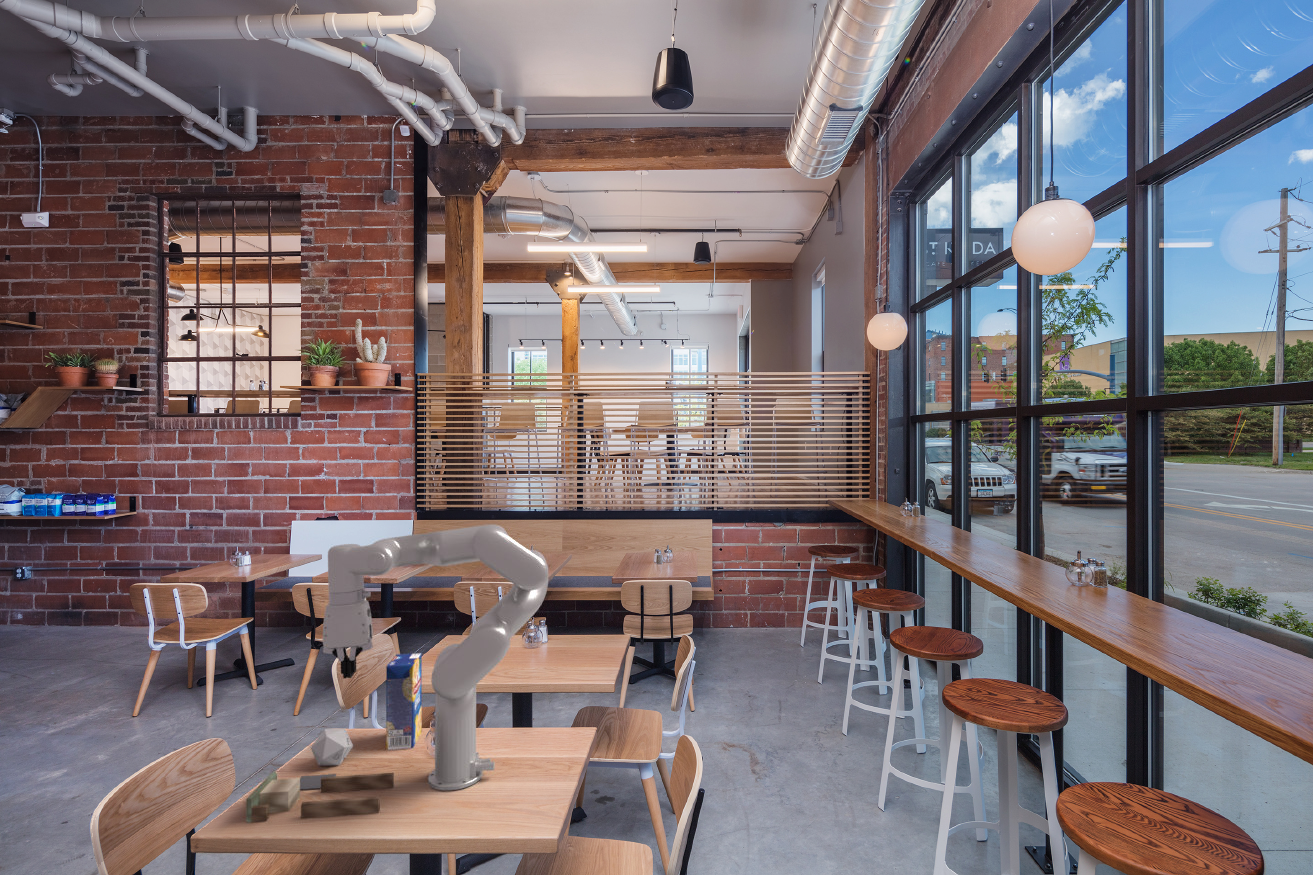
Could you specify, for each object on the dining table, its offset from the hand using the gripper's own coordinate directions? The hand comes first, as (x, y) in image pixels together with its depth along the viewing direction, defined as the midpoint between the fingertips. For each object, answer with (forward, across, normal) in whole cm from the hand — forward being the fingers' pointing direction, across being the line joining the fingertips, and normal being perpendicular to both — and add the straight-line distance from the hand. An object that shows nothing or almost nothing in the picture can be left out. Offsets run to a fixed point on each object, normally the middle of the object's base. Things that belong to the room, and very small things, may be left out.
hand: (348, 676), depth 153 cm
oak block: (+26, +14, +4) cm, 30 cm away
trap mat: (+26, +10, -6) cm, 29 cm away
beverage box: (+27, -6, -26) cm, 38 cm away
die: (+26, +9, -16) cm, 32 cm away
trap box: (+26, +4, +5) cm, 27 cm away
